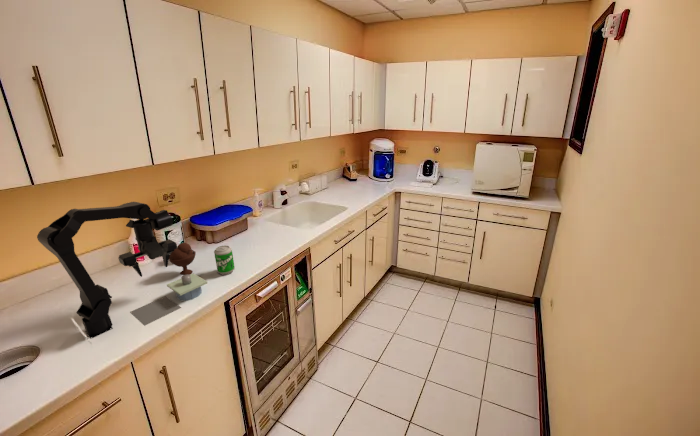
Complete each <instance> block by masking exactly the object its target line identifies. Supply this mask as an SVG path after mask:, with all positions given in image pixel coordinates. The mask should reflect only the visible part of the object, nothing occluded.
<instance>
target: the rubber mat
mask: <svg viewBox="0 0 700 436" xmlns="http://www.w3.org/2000/svg"><path fill="white" fill-rule="evenodd" d="M180 309H182V307H181V306H180V305H179V304H177V303H176V302H175V301H173V300H172V299H171V298H169V297H168V296H167V295H165V296H162V297H160V298H157V299H155V300H154V301H150V302H149V303H146V304H145V305H143V306H140V307H138V308H136V309H133V310H132V311H130V312H129V313H130V314H132V315H133V317H134V318H135V319H136V320H138V321H139V323H141V324H142V325H143V326H147V325H149V324H151V323H153V322H156V321H157V320H160V319H161V318H164V317H165V316H167V315H169V314H172V313H174V312H175V311H177V310H180Z"/></svg>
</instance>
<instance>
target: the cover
mask: <svg viewBox="0 0 700 436" xmlns="http://www.w3.org/2000/svg"><path fill="white" fill-rule="evenodd" d="M207 284H208V280H205V279H204V278H202V277H200V276H199V275H197V274H195V273H193V272H192V274H190V275H189V274H187V275H181V278H179V279H177V280H174V281H171V282H170V283H167V284H166V287H168V288H169V289H170V290H172V292H174V293H175V294H176V293H177V294H179V295H180V296H181V295H183V294H185V293H187V292H190V291H192V290H194V289H196V288H198V287H200V286H201V287H203V286H204V285H207Z"/></svg>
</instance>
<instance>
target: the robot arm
mask: <svg viewBox="0 0 700 436" xmlns="http://www.w3.org/2000/svg"><path fill="white" fill-rule="evenodd" d="M113 219H129V221H128V222H126V224H125V227H127V228H129V229H133V231H134V235H135V237H134V238H135V241H136V242H137V246H138V247H137V250H138V252H136V253H133V252H131V251H128V252H125V253H122V254H120V255H118V262H119V263H120V264H121V265H123V266H125V267H131V268H133V270H135V272H136V273H137V274H138V275H139V277H140V278H142V277H143V273H142V271H141V268H140V266H139V262H138V261H137V260H138V259H139V258H142V257H145V256H147V257H148V258H149V260H154V259H155V260H156V259H157V258H160V257H161V258H162V261H163V265H164V267H165V268H167V267H168V265H169V256H170V254H171V253H172V252H174V249H177V246H178V245H177V242H175V241H174V240H172V239H165V240H162V241H160V242H158V240H157V238H156V236H155V234H154V230H155V231H160V230H164V229H166V228H168V227H172V226H173V225H174V219H173V218H172V216H171V214H169V211H168V210H167V209H163V210H160V211H157V212H154V211H152V210H151V207H150V205H148V204H147V203H143V202H139V201H129V202H127V203H126V202H125V203H123V204H120V205H117V206H116V205H115V206H103V207H90V208H71V209H70V210H68V211H67V212H66V213H65V214H63V215H62V216H60V217H59V218H58V219H55V220H54V221H53V222H51V223H50V224H49V225H48V226H45V227H43V228H42V229H40V231H38V234H37V235H36V239H37V241H38V242H39V244H41V245H42V246H43V247H44V248H45V249H46V250H47V251H49V252H50V253H51V254H53V255H54V256H55V257H56V258H57V259H58V261H59V262H60V264H61V265H62V267H63V269H65V271H66V273H67V274H68V276H69V277H70V279H71V280H72V282H73V283H74V284H75V286H76V288H77V289H78V291H79V298H80V301H81V304H80V306H79V307H78V309H77V310H76V315H78V316H79V317H81V321H82V324H83V327H84V330H85V331H84V332H85V333H86V334H85V335H87V336H88V337H89V339H90V340H91V339H94V338H96V337H98V336H100V335H102V334H105V333H107V332H109V331H111V330H113V329H114V328H113V323H112V320H111V317H110V315H109V313H110V312H109V311H110V306H111V304H112V303H113V302H112V299H111V298H113V296H111V294H110V293H109V291H108V289H107V288H106V287H104V286H103V285H100V284H95V282H94V281H93V278H92V277H91V276H90V274H89V272H88V271H87V270H86V268H85V266H84V265H83V263H82V261H81V260H80V258H79V256H78V255H77V254H76V252H75V242H74V240H73V238H74V237H75V236H76V235H77V234H78V232H79V230H80V229H81V226H82V225H83V224H84V223H85V222H95V221H103V220H113Z"/></svg>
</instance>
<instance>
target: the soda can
mask: <svg viewBox="0 0 700 436" xmlns="http://www.w3.org/2000/svg"><path fill="white" fill-rule="evenodd" d="M213 253H214V258H215V265H216V270H217V271H216V272H217V273H218V274H220V275H223V276H224V275H225V276H226V275H229V274H232V273H233V272H234V271H235V262H234V261H235V260H234V255H233V249H232V247H231V246H229V245H225V244H224V245H219V246H217V247H216V248H215V249H214V251H213Z"/></svg>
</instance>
